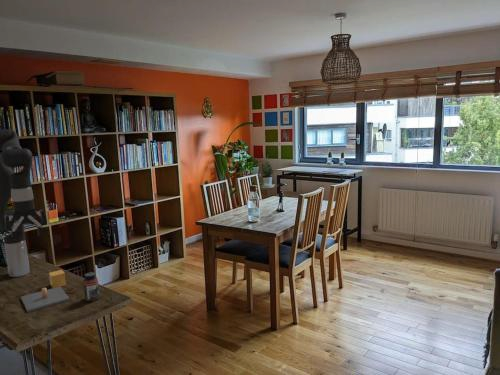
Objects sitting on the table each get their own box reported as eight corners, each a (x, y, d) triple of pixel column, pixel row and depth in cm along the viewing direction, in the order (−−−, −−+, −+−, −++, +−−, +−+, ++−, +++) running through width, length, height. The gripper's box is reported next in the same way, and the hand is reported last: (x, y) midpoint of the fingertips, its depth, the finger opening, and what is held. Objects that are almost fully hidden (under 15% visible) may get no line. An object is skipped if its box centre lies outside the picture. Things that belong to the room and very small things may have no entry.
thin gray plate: (21, 298, 170) (19, 288, 170) (60, 288, 180) (59, 278, 179) (27, 312, 158) (25, 300, 157) (69, 300, 168) (68, 289, 167)
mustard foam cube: (50, 284, 184) (48, 272, 183) (63, 281, 188) (61, 269, 187) (53, 288, 180) (51, 276, 179) (66, 285, 183) (64, 273, 182)
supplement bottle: (85, 297, 170) (82, 272, 168) (99, 294, 172) (97, 270, 170) (84, 303, 165) (82, 277, 163) (99, 300, 167) (97, 275, 165)
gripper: (40, 195, 164) (45, 232, 166) (0, 200, 155) (6, 239, 158) (44, 197, 158) (49, 236, 161) (3, 202, 149) (8, 243, 152)
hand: (27, 237), depth 159 cm, fingers open, 8 cm apart
